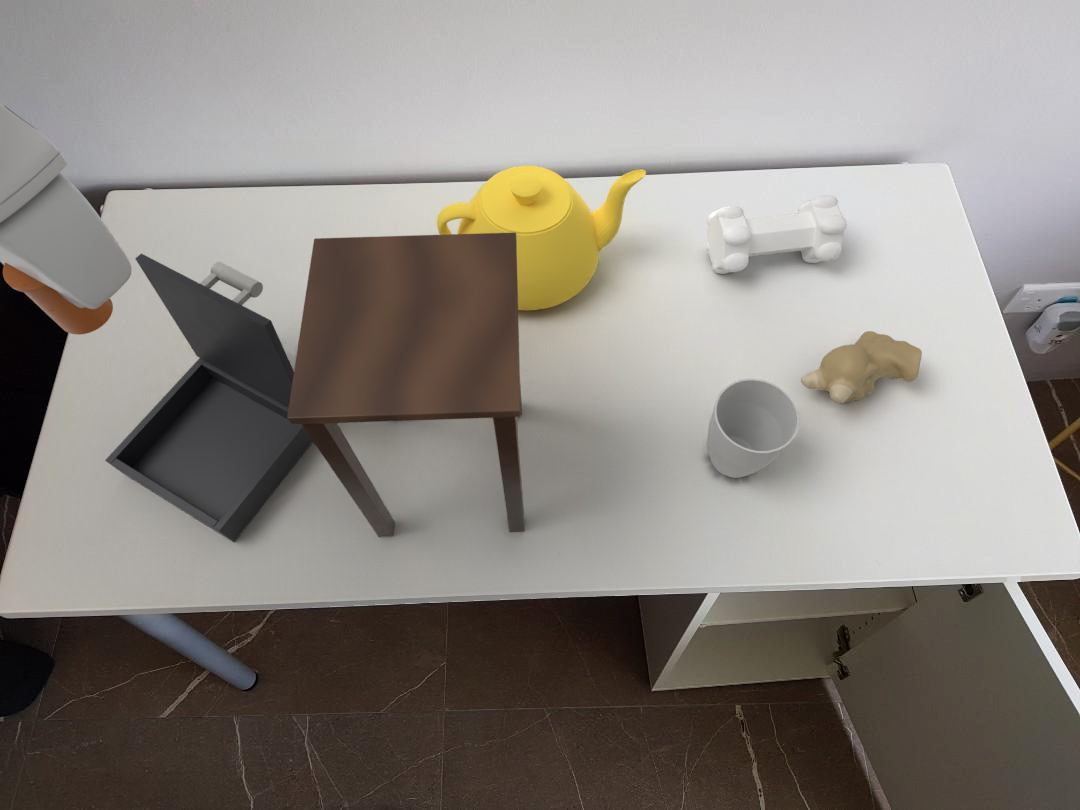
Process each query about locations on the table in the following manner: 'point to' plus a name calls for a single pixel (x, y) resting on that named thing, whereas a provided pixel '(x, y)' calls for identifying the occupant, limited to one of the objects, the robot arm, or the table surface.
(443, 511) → the table surface
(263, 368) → the lid
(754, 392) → the cup
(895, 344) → the tan lumpy rounded piece
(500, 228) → the teapot
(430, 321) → the shelf top
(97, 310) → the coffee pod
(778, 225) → the bone shaped toy
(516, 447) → the shelf legs
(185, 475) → the hinged lid box
